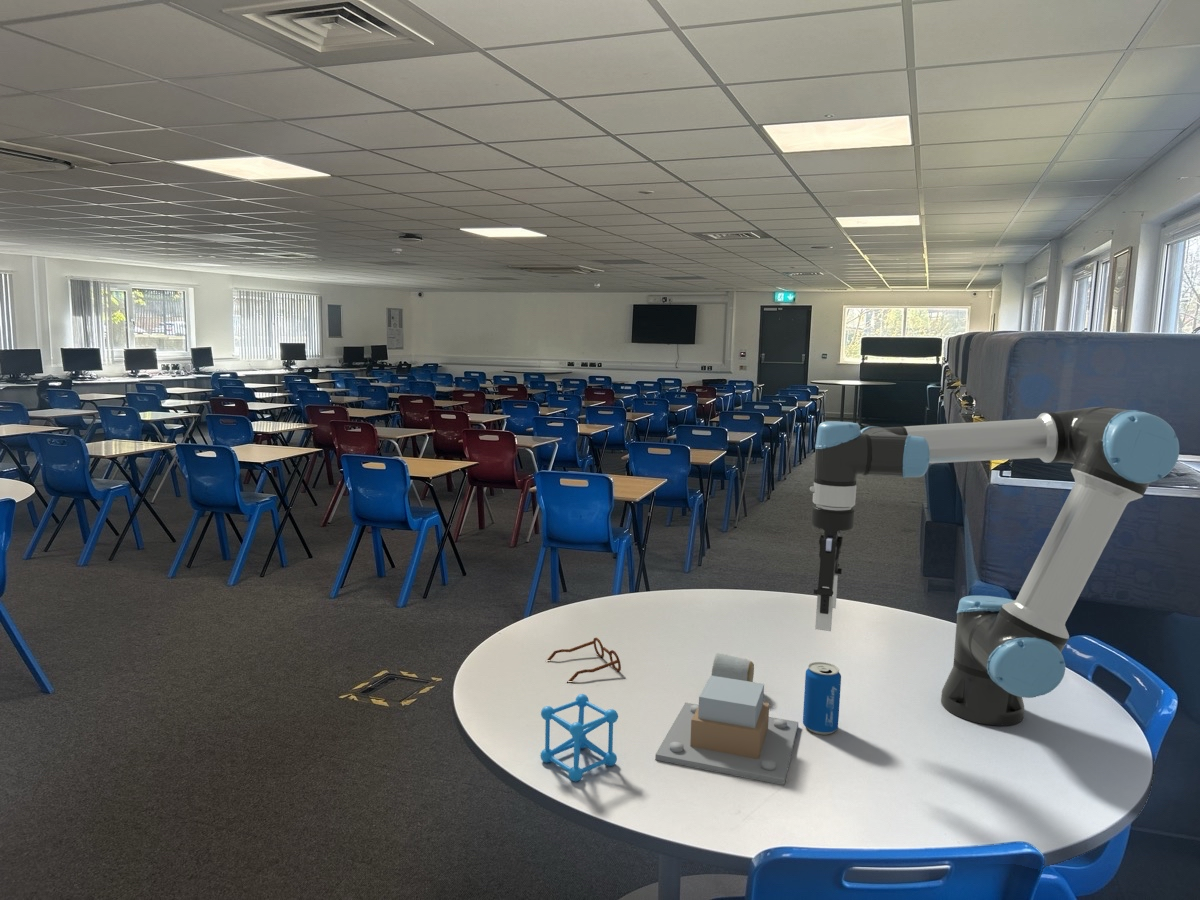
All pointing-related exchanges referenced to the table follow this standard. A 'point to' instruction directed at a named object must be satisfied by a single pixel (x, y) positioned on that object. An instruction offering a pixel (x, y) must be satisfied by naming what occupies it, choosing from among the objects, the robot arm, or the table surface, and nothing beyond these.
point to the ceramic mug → (732, 667)
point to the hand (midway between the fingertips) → (825, 618)
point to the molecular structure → (578, 736)
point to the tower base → (729, 761)
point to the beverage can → (821, 698)
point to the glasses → (597, 653)
